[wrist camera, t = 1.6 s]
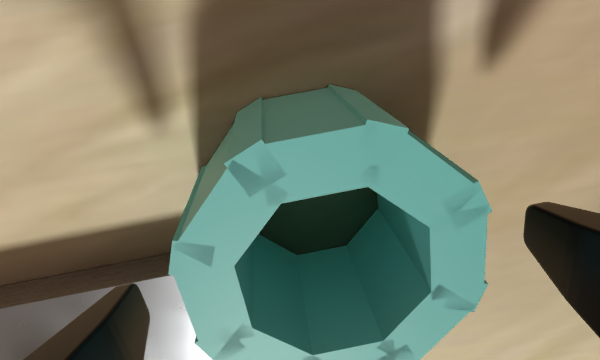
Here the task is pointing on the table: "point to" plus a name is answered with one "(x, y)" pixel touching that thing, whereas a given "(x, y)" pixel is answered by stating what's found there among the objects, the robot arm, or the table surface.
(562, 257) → the robot arm
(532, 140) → the table surface
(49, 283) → the gear board
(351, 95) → the teal blocky piece
